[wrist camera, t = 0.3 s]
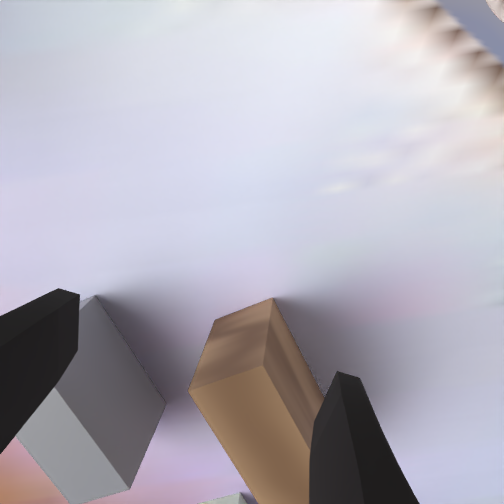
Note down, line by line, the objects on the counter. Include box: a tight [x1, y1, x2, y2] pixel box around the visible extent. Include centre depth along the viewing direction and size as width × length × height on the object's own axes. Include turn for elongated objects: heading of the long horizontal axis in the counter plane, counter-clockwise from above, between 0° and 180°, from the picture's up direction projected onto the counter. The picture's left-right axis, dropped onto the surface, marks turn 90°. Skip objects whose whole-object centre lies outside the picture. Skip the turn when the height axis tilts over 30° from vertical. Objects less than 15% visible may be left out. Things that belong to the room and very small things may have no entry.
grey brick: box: [15, 295, 166, 504], centre depth 22 cm, size 4×8×6 cm, turn 26°
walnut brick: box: [188, 298, 325, 504], centre depth 21 cm, size 4×8×6 cm, turn 26°
